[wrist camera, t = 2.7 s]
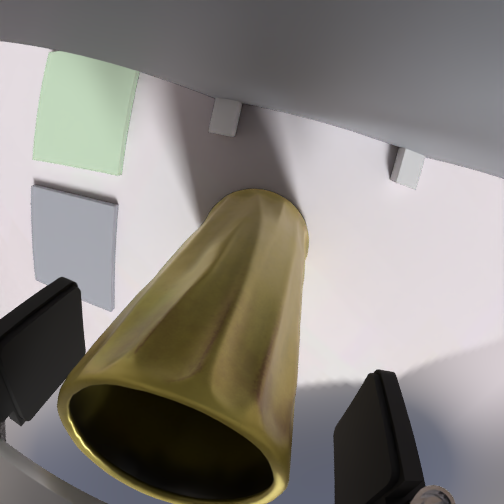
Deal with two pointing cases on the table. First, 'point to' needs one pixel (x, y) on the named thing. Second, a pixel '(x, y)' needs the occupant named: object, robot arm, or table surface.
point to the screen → (308, 63)
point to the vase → (202, 364)
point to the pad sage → (84, 113)
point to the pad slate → (75, 242)
